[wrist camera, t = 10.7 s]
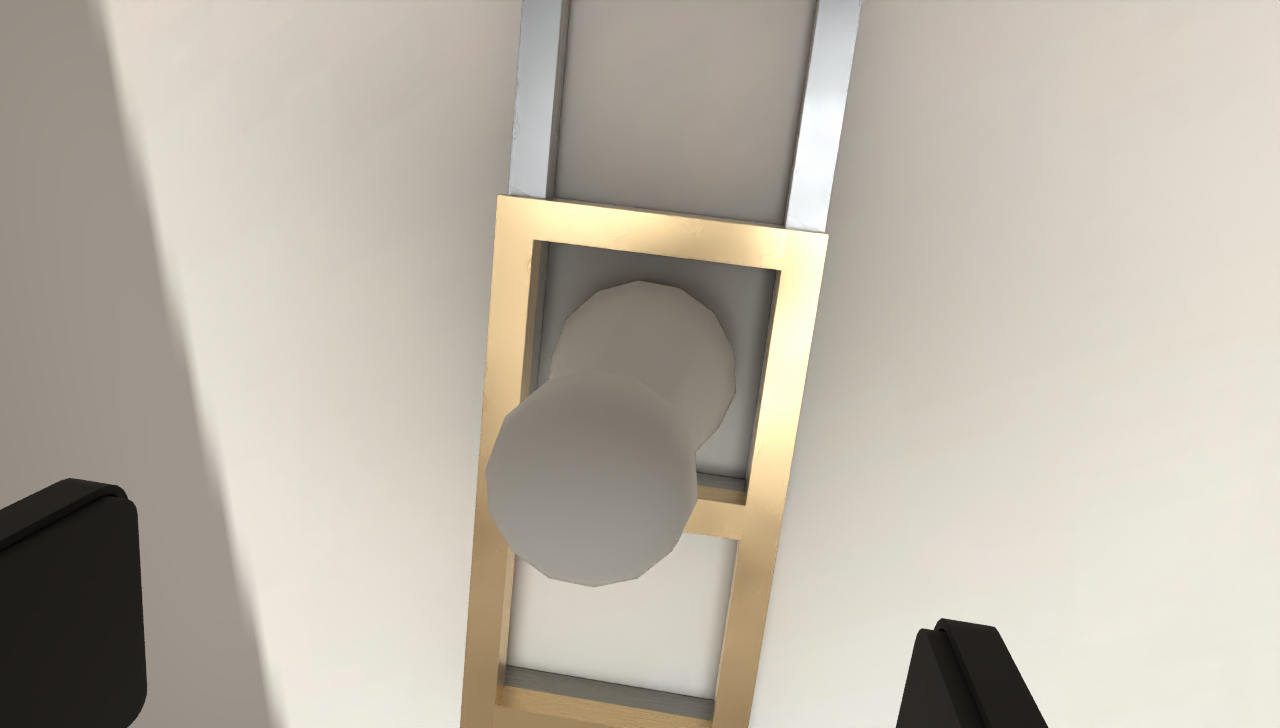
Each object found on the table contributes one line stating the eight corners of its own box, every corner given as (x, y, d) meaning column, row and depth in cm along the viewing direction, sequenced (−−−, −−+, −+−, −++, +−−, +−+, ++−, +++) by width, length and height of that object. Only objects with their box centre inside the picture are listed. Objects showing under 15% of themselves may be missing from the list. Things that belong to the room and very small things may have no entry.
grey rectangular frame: (540, -97, 26) (530, -110, 24) (868, -68, 25) (875, -80, 24) (496, 474, 30) (486, 486, 29) (774, 516, 29) (776, 530, 28)
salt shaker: (737, 437, 29) (738, 644, 16) (574, 440, 29) (451, 641, 17) (732, 267, 27) (728, 348, 15) (561, 274, 28) (419, 357, 15)
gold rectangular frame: (518, 193, 28) (497, 194, 25) (820, 229, 27) (829, 234, 24) (480, 688, 32) (459, 729, 30) (739, 733, 31) (739, 778, 29)
